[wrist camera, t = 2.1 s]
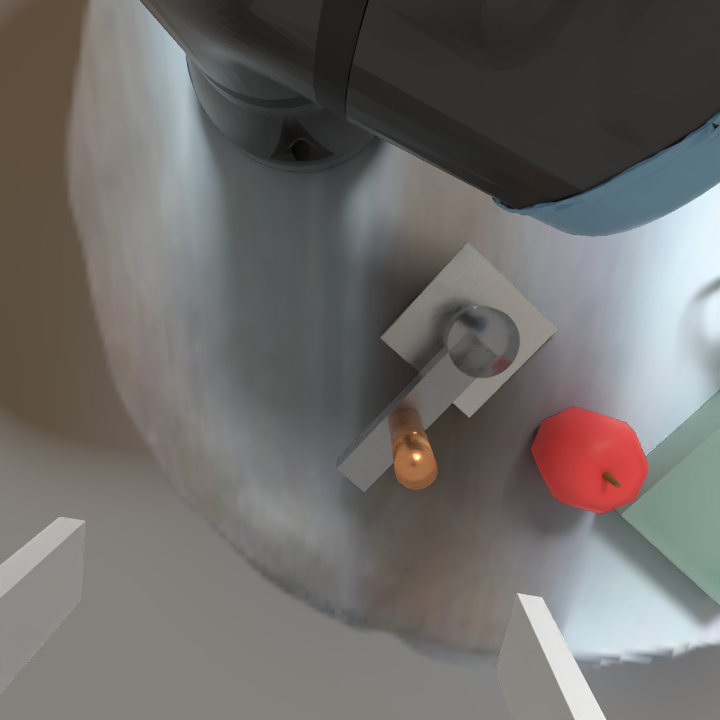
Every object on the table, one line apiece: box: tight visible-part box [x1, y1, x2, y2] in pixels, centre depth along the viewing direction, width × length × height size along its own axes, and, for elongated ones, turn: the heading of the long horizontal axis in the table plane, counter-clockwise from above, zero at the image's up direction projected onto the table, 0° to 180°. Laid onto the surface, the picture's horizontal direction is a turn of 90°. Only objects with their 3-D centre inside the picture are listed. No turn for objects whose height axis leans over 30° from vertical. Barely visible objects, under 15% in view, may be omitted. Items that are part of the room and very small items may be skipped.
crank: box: [336, 305, 520, 492], centre depth 30 cm, size 16×5×10 cm, turn 138°
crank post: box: [380, 242, 558, 418], centre depth 35 cm, size 10×10×3 cm
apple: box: [531, 407, 649, 514], centre depth 35 cm, size 8×8×8 cm
